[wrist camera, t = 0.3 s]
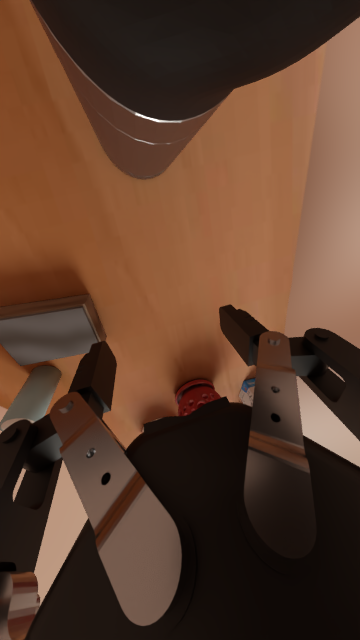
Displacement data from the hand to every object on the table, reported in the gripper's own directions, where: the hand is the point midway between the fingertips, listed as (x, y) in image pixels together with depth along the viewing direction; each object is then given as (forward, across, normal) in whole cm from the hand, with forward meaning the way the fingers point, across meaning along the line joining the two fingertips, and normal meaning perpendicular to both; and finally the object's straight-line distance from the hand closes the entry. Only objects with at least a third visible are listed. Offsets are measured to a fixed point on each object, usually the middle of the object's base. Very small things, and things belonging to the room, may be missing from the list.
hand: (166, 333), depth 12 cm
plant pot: (+20, -3, +37) cm, 42 cm away
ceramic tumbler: (+19, +26, +15) cm, 36 cm away
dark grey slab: (+19, +17, +5) cm, 26 cm away
